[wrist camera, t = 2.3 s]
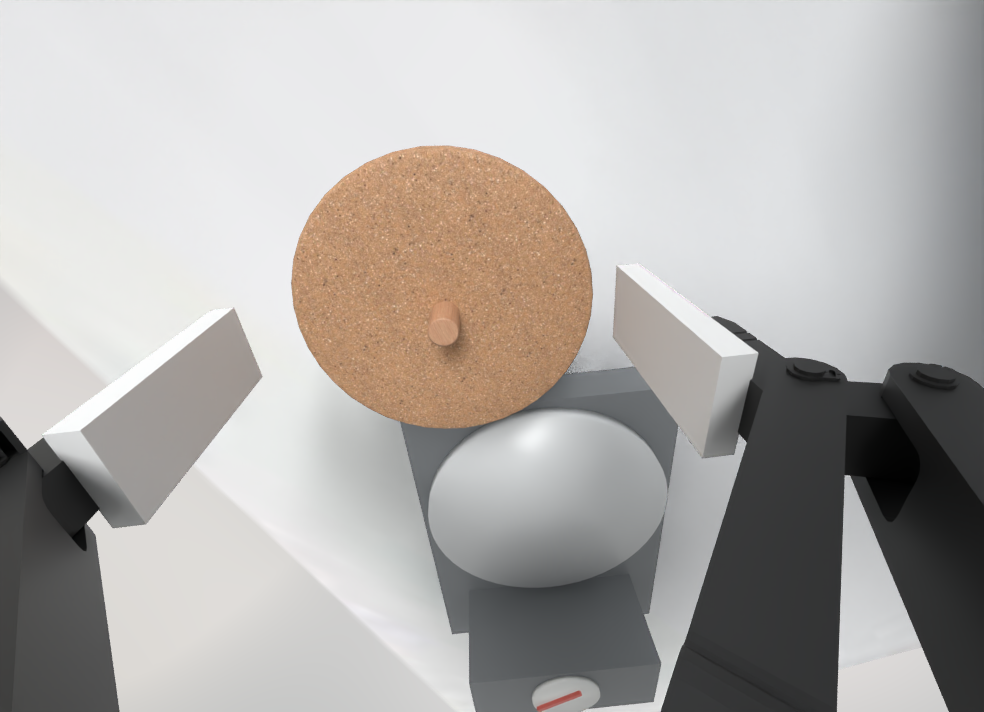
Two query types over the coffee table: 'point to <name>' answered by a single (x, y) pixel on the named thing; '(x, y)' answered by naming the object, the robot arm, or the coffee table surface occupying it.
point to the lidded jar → (442, 287)
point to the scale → (552, 541)
